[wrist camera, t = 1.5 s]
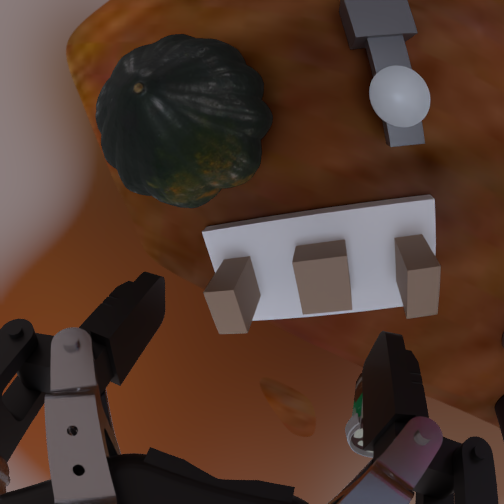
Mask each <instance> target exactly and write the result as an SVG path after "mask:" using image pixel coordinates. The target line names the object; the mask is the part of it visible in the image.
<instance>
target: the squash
mask: <svg viewBox="0 0 504 504" xmlns="http://www.w3.org/2000/svg"><path fill="white" fill-rule="evenodd" d="M263 92H264V83H263V80H262V77H261V76H260V75H259V74H258V72H256V71H255V70H254V69H253V68H251V67H249V66H247V65H246V63H245V60H244V58H243V57H242V55H241V53H240V52H239V51H238V50H237V49H236V48H234V47H233V46H231V45H229V44H227V43H224V42H222V41H219V40H216V39H203V38H194V37H191V36H188V35H185V34H175V35H169V36H167V37H164V38H162V39H160V40H159V41H157V42H155V43H153V44H149V45H144V46H141V47H138V48H136V49H134V50H133V51H131V52H130V53H128V54H126V55H124V56H123V57H122V58H121V59H120V60H119V62H118V64H117V65H116V67H115V69H114V70H113V73H112V75H111V77H110V78H109V79H108V80H107V82H106V83H105V85H104V86H103V88H102V90H101V92H100V94H99V97H98V100H97V104H96V110H97V111H96V121H97V125H98V129H99V131H100V132H101V134H102V135H101V146H102V150H103V153H104V156H105V159H106V160H107V162H108V163H109V164H110V165H112V166H113V167H114V168H116V169H117V170H118V174H119V176H120V178H121V180H122V182H123V184H124V185H125V187H126V188H127V189H129V190H130V191H132V192H135V193H138V194H142V195H147V196H151V195H152V196H153V197H154V198H156V199H158V200H159V201H161V202H164V203H167V204H170V205H174V206H177V207H183V208H196V207H199V206H201V205H204V204H206V203H207V202H208V201H210V200H211V199H212V198H214V197H215V196H216V195H217V194H218V193H219V191H220V190H221V189H222V188H230V187H235V186H238V185H241V184H243V183H246V182H247V181H249V180H250V179H251V178H252V177H253V175H254V174H255V172H256V170H257V169H258V168H259V166H260V162H261V155H262V150H261V139H262V138H263V137H264V136H265V135H266V133H267V132H268V130H269V129H270V127H271V125H272V120H273V115H272V113H271V111H270V109H269V107H268V106H267V105H266V104H265V102H263V101H262V100H261V99H262V97H263Z"/></svg>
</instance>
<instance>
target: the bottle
mask: <svg viewBox="0 0 504 504" xmlns="http://www.w3.org/2000/svg"><path fill="white" fill-rule="evenodd" d="M495 411H496V415H497V418H498V421H499V425H500V429H501V433H502V436H503V440H504V396H503V397H502V398H501V399H500V400H499V401H498V402H497V404H496V406H495Z"/></svg>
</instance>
